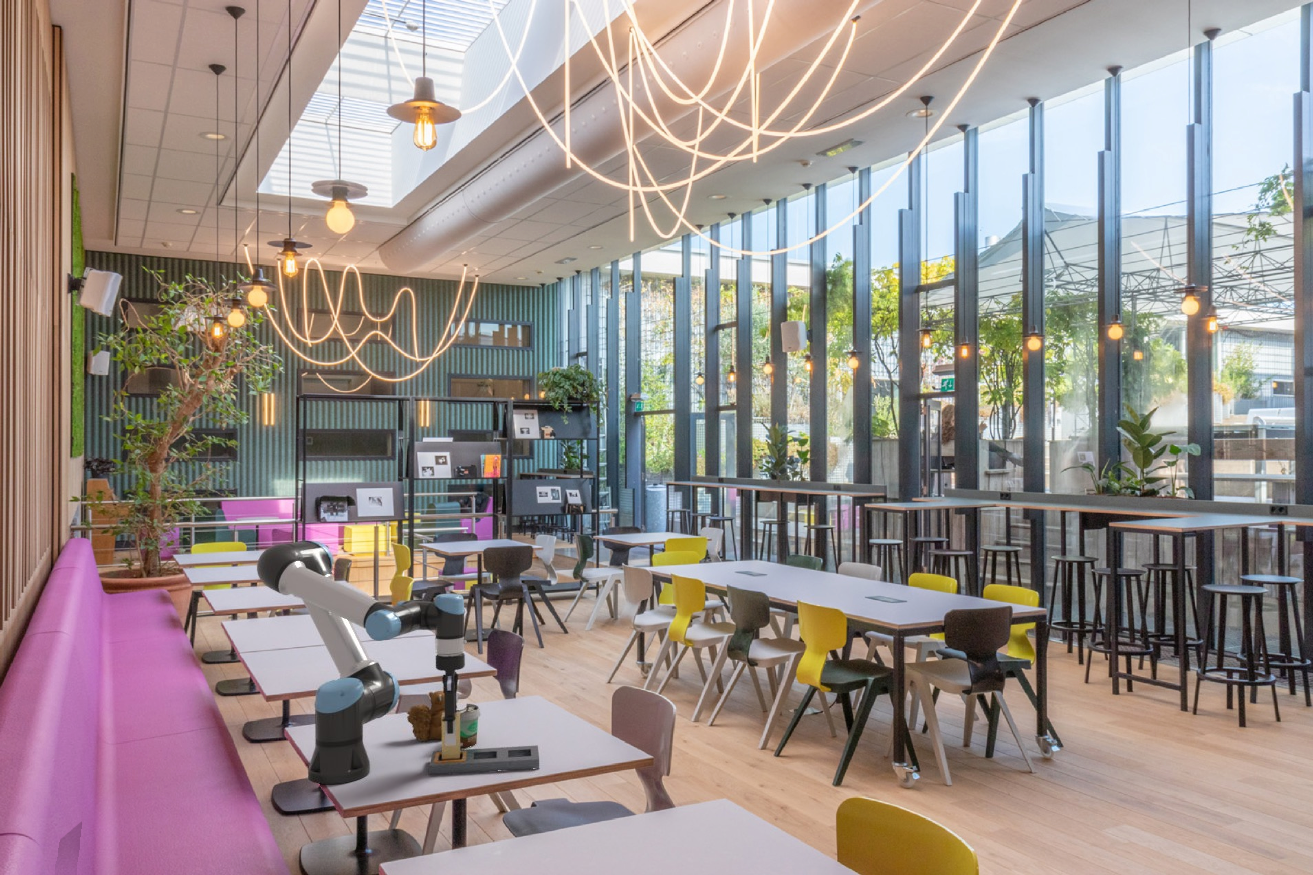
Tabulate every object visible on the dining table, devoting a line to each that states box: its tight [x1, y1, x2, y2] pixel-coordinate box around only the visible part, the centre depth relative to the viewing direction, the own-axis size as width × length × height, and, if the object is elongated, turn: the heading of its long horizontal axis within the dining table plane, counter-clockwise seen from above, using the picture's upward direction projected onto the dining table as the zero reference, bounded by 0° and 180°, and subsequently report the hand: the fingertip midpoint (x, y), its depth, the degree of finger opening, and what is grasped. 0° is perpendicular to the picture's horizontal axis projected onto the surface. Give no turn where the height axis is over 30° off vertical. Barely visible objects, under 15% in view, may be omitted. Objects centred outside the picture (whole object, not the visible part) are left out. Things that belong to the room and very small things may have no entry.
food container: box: [458, 703, 482, 749], centre depth 266 cm, size 12×6×10 cm, turn 168°
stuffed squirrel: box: [406, 690, 445, 742], centre depth 273 cm, size 10×14×13 cm
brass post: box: [441, 712, 461, 759], centre depth 246 cm, size 4×4×11 cm
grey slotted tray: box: [428, 745, 540, 776], centre depth 248 cm, size 28×12×3 cm, turn 99°
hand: (451, 742), depth 246 cm, fingers closed on brass post, 4 cm apart
